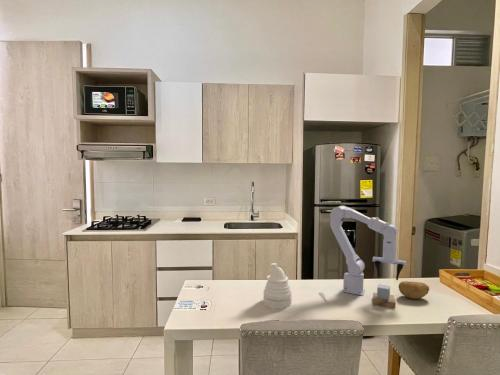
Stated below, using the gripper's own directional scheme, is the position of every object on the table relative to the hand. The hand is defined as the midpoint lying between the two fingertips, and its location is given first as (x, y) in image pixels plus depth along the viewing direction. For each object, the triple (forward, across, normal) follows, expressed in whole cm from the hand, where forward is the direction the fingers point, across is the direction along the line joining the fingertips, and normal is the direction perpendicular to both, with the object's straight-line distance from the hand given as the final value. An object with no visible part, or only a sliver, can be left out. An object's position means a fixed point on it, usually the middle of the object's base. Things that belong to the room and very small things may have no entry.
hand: (388, 278), depth 156 cm
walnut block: (+10, -1, -6) cm, 12 cm away
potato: (+10, +11, +7) cm, 16 cm away
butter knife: (+10, -23, -20) cm, 33 cm away
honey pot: (+10, -44, -31) cm, 55 cm away
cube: (+7, -1, -6) cm, 10 cm away
